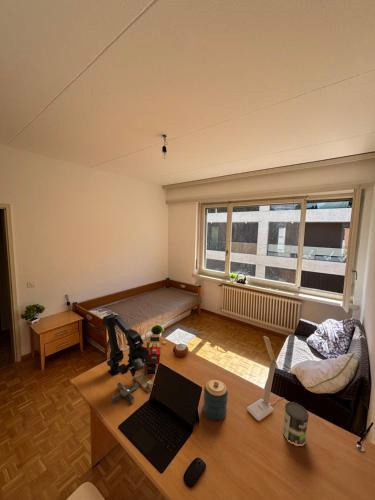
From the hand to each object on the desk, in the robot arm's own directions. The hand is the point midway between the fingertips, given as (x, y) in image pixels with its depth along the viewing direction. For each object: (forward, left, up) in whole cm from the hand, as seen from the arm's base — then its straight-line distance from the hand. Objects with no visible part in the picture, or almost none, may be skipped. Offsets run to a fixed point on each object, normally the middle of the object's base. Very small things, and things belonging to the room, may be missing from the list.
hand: (132, 376), depth 132 cm
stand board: (+6, +5, -4) cm, 9 cm away
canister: (+49, +22, -5) cm, 53 cm away
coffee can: (+85, +39, -5) cm, 93 cm away
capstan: (+6, -8, -4) cm, 11 cm away
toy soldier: (-8, +21, -5) cm, 23 cm away
